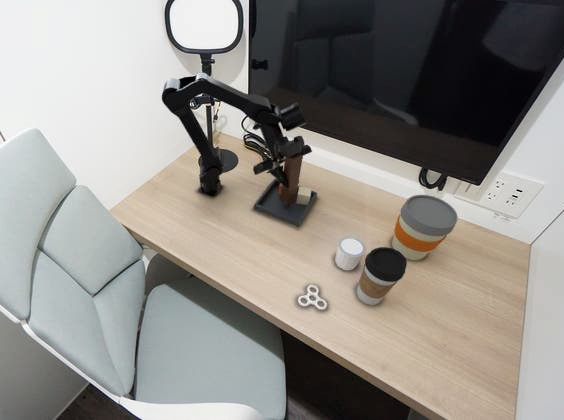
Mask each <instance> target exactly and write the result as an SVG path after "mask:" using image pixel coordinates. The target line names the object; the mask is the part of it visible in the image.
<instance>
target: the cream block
mask: <svg viewBox="0 0 564 420" xmlns="http://www.w3.org/2000/svg"><path fill="white" fill-rule="evenodd" d="M311 191H313V190H312V188H310V187H305V186H300V187H299V191H298V196H297V202H296V203H297V204H303V205H308V203H309V201H310V196H311Z"/></svg>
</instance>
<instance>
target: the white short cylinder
mask: <svg viewBox="0 0 564 420" xmlns="http://www.w3.org/2000/svg"><path fill="white" fill-rule="evenodd" d="M365 252H366V245H365V244H364V243H363V242H362V241H361V240H360V239H359V238H357V237H354V236H344V237H342V238H340V239H339V241H338V243H337V248H336V253H335V257H334V258H335V259H334V260H335V262H334V263H335V264H336V266H337V267H338V268H339V269H341V270H344V271H352V270H354V269H355V268H356V267H357V265H358V264H359V262H360V261H361V259H362V257H363V256H364V254H365Z"/></svg>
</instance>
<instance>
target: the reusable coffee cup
mask: <svg viewBox="0 0 564 420" xmlns="http://www.w3.org/2000/svg"><path fill="white" fill-rule="evenodd" d="M399 213H400V214H399V215H398V216H397V220H396V222H395V226H394V230H393V231H394V235H393V237H392V242H391V246H392V248H393V249H395V250H397V251H399V252H400V253H401V254H403V256H404V257H405V258H406V260H411V261H419V260H420V261H421V260H422V259H424V258H425V257H426V256H427V255H428V254H429V253H430V252H432V251H433V250H435V249H436V248H437V247H438V246H439V245H440V244H442V242H443V241H444V240H445V239H446V238H447V235H449V234H450V233H452V232H453V230H454V229H455V226H456V224H457V223H458V219H459V218H458V213H457V211H456V209H455V208H454V207H453V206H452V205H451V204H449V203H448V202H446V201H445V200H443V199H441V198H439V197H436V196H433V195H430V194H429V195H428V194H415V195H412V196H409V198H407V199H406V201H405V202H404V204H403V205H402V206H401V208H400V212H399Z"/></svg>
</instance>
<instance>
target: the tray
mask: <svg viewBox="0 0 564 420" xmlns="http://www.w3.org/2000/svg"><path fill="white" fill-rule="evenodd" d="M280 184H281V182H280V181H279V180H278V179H277V178H275V177H274V178H273V180H272V181H271V182H270V184H269V185H268V186H267V188H266V189H265V190H264V191H263V192H262V194H261V195H260V197H258V199H257V200H256V201H255V203H254V204H253V210H254V211H256V212H260V213H262V214H264V215H267V216H270V217H272V218H275V219H277V220H280V221H282V222H285V223H288V224H290V225H292V226H296V227H297V228H299V227H300V225H301V224H302V222H303V221H304V219H305V217H306V216H307V214H308V212H309V210H310V209H311V207H312V206H313V204H314V202H315V201H316V199H317V197H318V192H317V191H314V190H311V196H310V201H309V203H308V205H303V204H297V203H296V202H297V196H298V191H299V187H301V186H300V185H298V188H297V194H296V200H295V203H293V204H291V205H289V206H286V205H285V204H283V203H282V202H281V201H280V196H281V195H278V193H279V185H280Z"/></svg>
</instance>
